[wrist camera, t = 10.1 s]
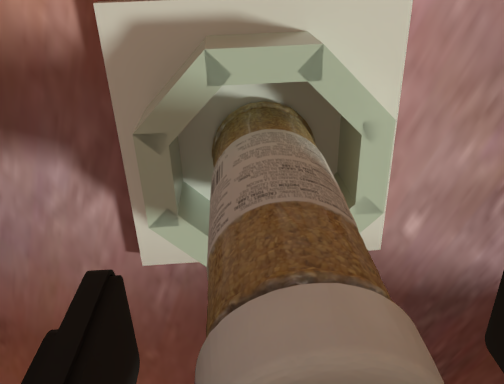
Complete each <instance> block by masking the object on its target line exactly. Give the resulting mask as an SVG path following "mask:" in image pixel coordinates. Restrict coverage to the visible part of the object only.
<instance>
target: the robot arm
mask: <svg viewBox="0 0 504 384" xmlns="http://www.w3.org/2000/svg"><path fill="white" fill-rule="evenodd" d="M485 342H486V346H487V349H488V350H489V352H490V354H491V355H492V356H493V358H494V359H495V361H496V362H497V364H498V365H499V367H500V368H501V370H502V371H503V373H504V271H503V275H502V278H501V282H500V285H499V289H498V292H497V296H496V299H495V303H494V306H493V310H492V313H491V317H490V320H489V324H488V327H487V331H486V334H485ZM139 364H140V360H139V352H138V348H137V343H136V338H135V334H134V329H133V324H132V320H131V315H130V310H129V305H128V301H127V296H126V291H125V287H124V282H123V278H122V276H121V275H117V276H115V273H114V272H113V270H96V271H87V272H86V274H85V275H84V277H83V279H82V282H81V284H80V286H79V288H78V290H77V292H76V294H75V296H74V298H73V300H72V302H71V304H70V307H69V309H68V311H67V313H66V315H65V317H64V319H63V321H62V323H61V325H60V327H59V329H57V330H51V331H49V332H48V333H47V334H46V336H45V338H44V339H43V341H42V343H41V345H40V347H39V349H38V351H37V353H36V355H35V357H34V359H33V361H32V363H31V365H30V367H29V369H28V371H27V373H26V375H25V377H24V379H23V381H22V383H21V384H136V381H137V377H138V373H139Z"/></svg>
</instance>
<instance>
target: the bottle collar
mask: <svg viewBox="0 0 504 384" xmlns="http://www.w3.org/2000/svg"><path fill="white" fill-rule="evenodd" d="M412 3H413V0H114V1H98V2H95V3H93V5H94V10H95V16H96V21H97V26H98V32H99V37H100V42H101V48H102V53H103V58H104V64H105V69H106V74H107V79H108V85H109V90H110V95H111V101H112V106H113V111H114V117H115V122H116V127H117V132H118V138H119V143H120V148H121V154H122V159H123V164H124V170H125V175H126V180H127V185H128V191H129V196H130V201H131V207H132V212H133V217H134V223H135V228H136V233H137V239H138V244H139V249H140V254H141V260H142V265H143V266H147V265H162V264H177V263H192V262H200V263H201V264H203V265H204V266H206V267H207V253H208V233H209V215H210V195H211V179H212V173H213V170H214V166H213V159H212V146H213V140H214V137H215V135H216V132H217V129H218V127H219V126H220V125H221V123H222V122H223V121H224V120H225V119H226V118H227V116H228V115H230V114H231V113H232V112H234V111H235V110H237V109H238V108H240V107H242V106H245V105H247V104H249V103H255V102H262V101H267V102H275V103H279V104H282V105H285V106H288V107H291V108H292V109H293V110H295V111H296V112H297V113H298V114H299V115H300V116H301V117H302V118H303V119H304V120H305V121H306V122H307V124H308V125H309V127H310V128H311V131H312V133H313V136H314V138H315V145H316V147H317V148H318V149H319V151H320V152H321V153H322V155H323V157H324V158H325V160H326V162H327V164H328V166H329V168H330V170H331V172H332V174H333V176H334V178H335V180H336V182H337V184H338V186H339V188H340V190H341V192H342V194H343V196H344V197H345V200H346V203H347V206H348V208H349V210H350V212H351V214H352V216H353V218H354V220H355V222H356V224H357V227H358V231H359V233H360V235H361V237H362V239H363V241H364V243H365V246H366V248H367V250H368V251H369V250H380V249H381V241H382V234H383V226H384V218H385V210H386V203H387V195H388V187H389V180H390V172H391V164H392V157H393V149H394V141H395V133H396V126H397V118H398V110H399V103H400V95H401V87H402V80H403V72H404V64H405V57H406V49H407V41H408V33H409V26H410V18H411V10H412Z"/></svg>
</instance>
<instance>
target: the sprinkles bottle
mask: <svg viewBox="0 0 504 384" xmlns="http://www.w3.org/2000/svg"><path fill="white" fill-rule="evenodd" d="M212 159H213V166H214V170H213V173H212V179H211V195H210V215H209V233H208V253H207V278H208V307H207V325H206V340H205V342H204V344H203V345H202V347H201V349H200V352H199V356H198V359H197V363H196V369H195V384H444V381H443V379H442V377H441V375H440V373H439V371H438V369H437V367H436V365H435V363H434V361H433V359H432V357H431V355H430V353H429V351H428V349H427V347H426V345H425V343H424V341H423V340H422V338H421V336H420V334H419V332H418V330H417V328H416V326H415V324H414V323H413V321H412V320H411V319H410V317H409V316H408V315H407V314H406V313H405V312H404V310H403V309H401V308H400V307H399V306H398V305H397V304H395V303H394V302H393V301H392V300H391V298H390V296H389V294H388V291H387V290H386V287H385V285H384V284H383V282H382V281H381V278H380V275H379V272H378V270H377V269H376V267H375V265H374V263H373V261H372V259H371V256H370V254H369V252H368V250H367V248H366V246H365V243H364V241H363V239H362V237H361V235H360V233H359V231H358V227H357V224H356V222H355V220H354V218H353V216H352V214H351V212H350V210H349V208H348V206H347V203H346V200H345V197H344V196H343V194H342V192H341V190H340V188H339V186H338V184H337V182H336V180H335V178H334V176H333V174H332V172H331V170H330V168H329V166H328V164H327V162H326V160H325V158H324V157H323V155H322V153H321V152H320V151H319V149H318V148H317V147H316V145H315V138H314V136H313V133H312V131H311V128H310V127H309V125H308V124H307V122H306V121H305V120H304V119H303V118H302V117H301V116H300V115H299V114H298V113H297V112H296V111H295V110H293V109H292V108H291V107H288V106H285V105H282V104H279V103H275V102H267V101H262V102H255V103H249V104H247V105H245V106H242V107H240V108H238V109H237V110H235V111H234V112H232V113H231V114H230V115H228V116H227V118H226V119H225V120H224V121H223V122H222V123H221V125H220V126H219V127H218V129H217V132H216V135H215V137H214V140H213V146H212Z"/></svg>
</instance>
